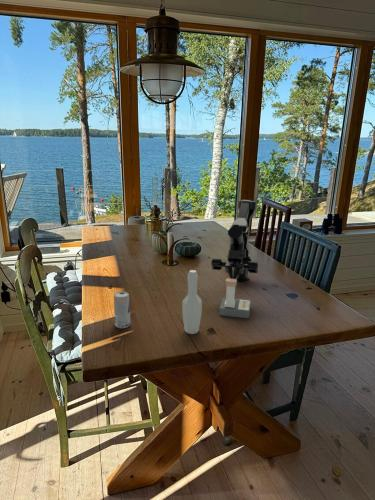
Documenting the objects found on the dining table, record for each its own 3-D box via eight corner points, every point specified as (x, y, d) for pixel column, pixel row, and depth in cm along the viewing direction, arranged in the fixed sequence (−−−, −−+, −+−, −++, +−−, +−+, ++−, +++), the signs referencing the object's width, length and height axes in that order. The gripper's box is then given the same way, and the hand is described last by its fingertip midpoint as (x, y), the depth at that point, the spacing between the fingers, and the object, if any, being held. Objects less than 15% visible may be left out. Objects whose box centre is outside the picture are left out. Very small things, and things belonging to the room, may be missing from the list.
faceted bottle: (190, 324, 129) (191, 266, 123) (204, 330, 126) (206, 271, 119) (178, 331, 125) (179, 271, 118) (193, 337, 121) (194, 276, 115)
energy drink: (131, 321, 131) (130, 291, 127) (129, 328, 126) (128, 297, 122) (116, 321, 131) (114, 291, 127) (114, 328, 125) (112, 297, 122)
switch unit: (222, 304, 146) (222, 296, 145) (250, 307, 144) (250, 299, 143) (219, 315, 137) (219, 307, 136) (248, 318, 134) (249, 310, 134)
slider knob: (225, 302, 140) (226, 277, 137) (235, 303, 139) (236, 278, 136) (224, 306, 136) (225, 281, 133) (234, 307, 135) (235, 282, 132)
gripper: (212, 239, 145) (207, 274, 138) (259, 242, 141) (256, 279, 134) (214, 252, 154) (210, 285, 147) (258, 255, 151) (256, 290, 144)
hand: (232, 285), depth 143 cm, fingers closed
